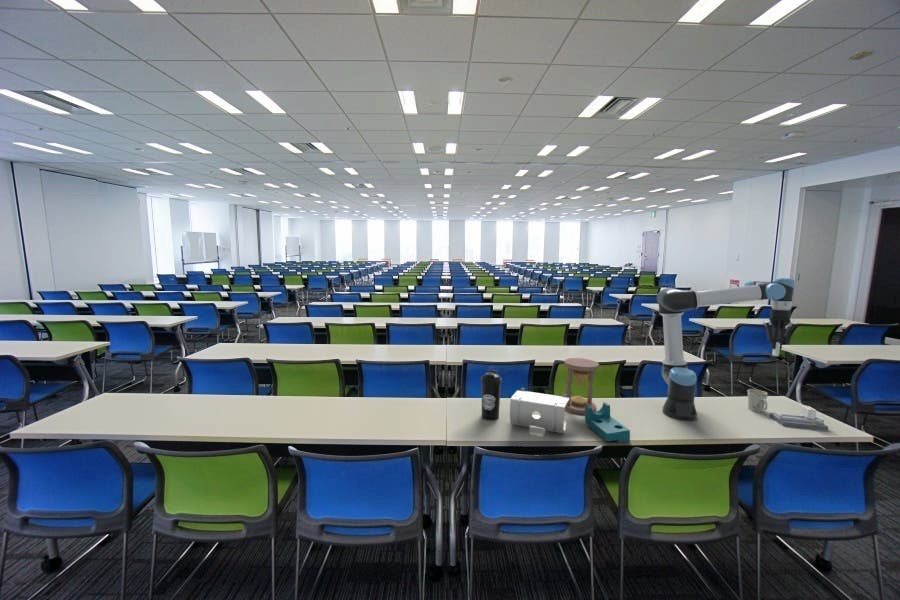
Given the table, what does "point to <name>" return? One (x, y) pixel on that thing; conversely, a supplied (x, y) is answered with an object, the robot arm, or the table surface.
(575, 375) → the hourglass
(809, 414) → the fader tab
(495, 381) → the water bottle
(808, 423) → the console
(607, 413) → the teal l-shaped bracket
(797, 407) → the table surface
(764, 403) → the mug
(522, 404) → the portable electronic device stand
